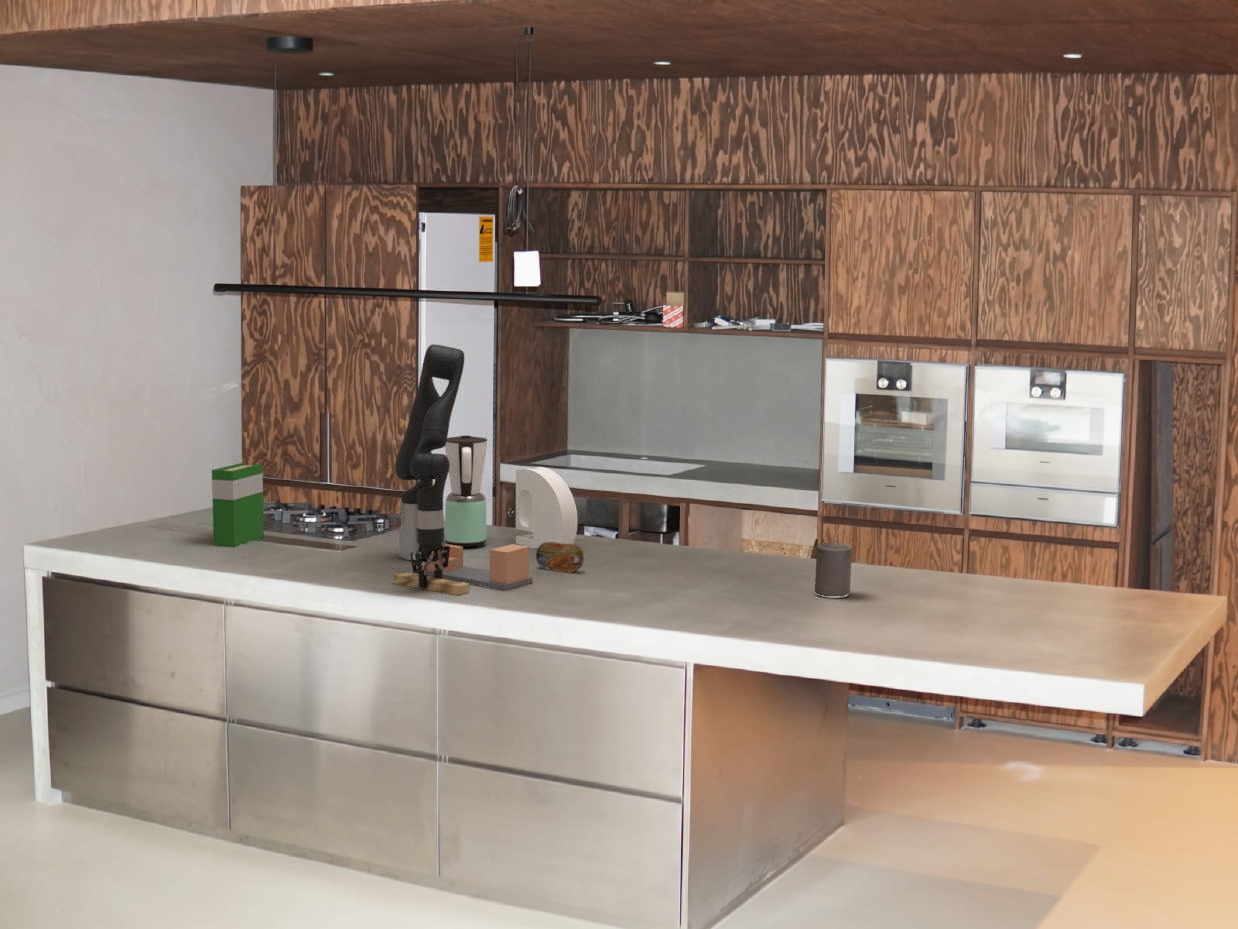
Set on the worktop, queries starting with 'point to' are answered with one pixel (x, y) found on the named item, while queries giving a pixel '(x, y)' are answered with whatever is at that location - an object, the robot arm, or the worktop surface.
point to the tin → (559, 557)
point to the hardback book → (237, 504)
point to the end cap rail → (477, 578)
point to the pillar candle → (833, 569)
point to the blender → (465, 492)
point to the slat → (432, 583)
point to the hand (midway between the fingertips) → (430, 585)
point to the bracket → (544, 508)
